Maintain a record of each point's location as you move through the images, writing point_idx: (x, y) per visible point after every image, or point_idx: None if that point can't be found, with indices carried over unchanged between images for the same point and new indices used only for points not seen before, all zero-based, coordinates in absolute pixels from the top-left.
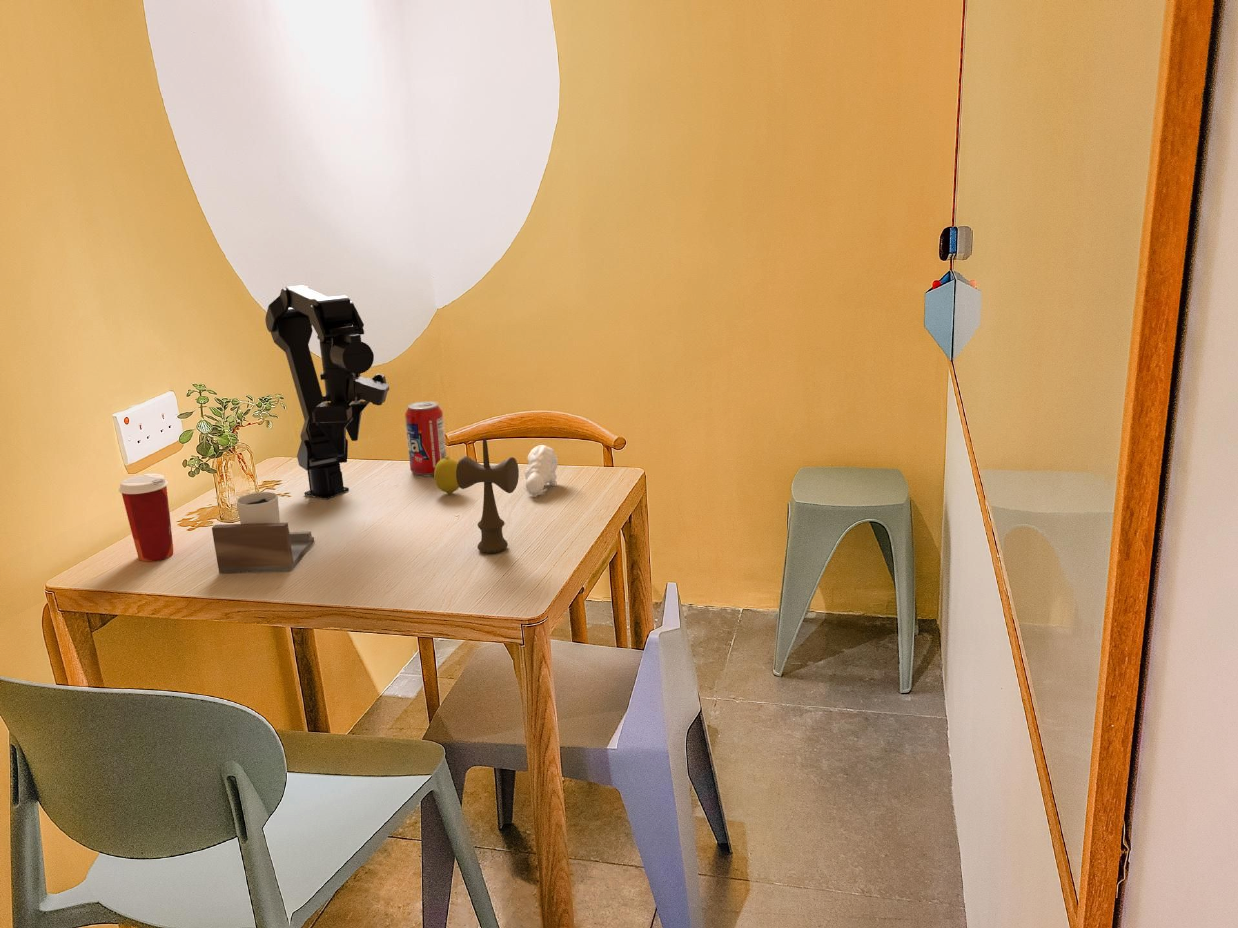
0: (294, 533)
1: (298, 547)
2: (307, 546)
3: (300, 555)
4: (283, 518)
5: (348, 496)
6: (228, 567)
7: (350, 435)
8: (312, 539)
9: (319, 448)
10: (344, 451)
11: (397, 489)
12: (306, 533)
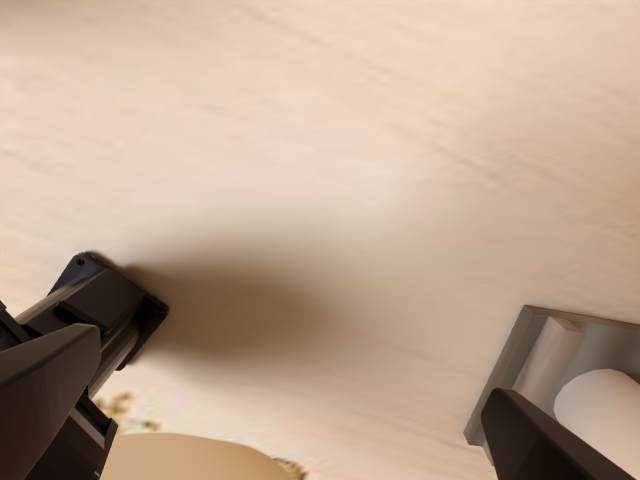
0: (561, 366)
1: (595, 339)
2: (583, 319)
3: (636, 328)
4: (307, 389)
5: (143, 248)
6: None
7: (66, 408)
8: (543, 314)
9: (63, 475)
10: (527, 400)
11: (75, 75)
12: (579, 338)
